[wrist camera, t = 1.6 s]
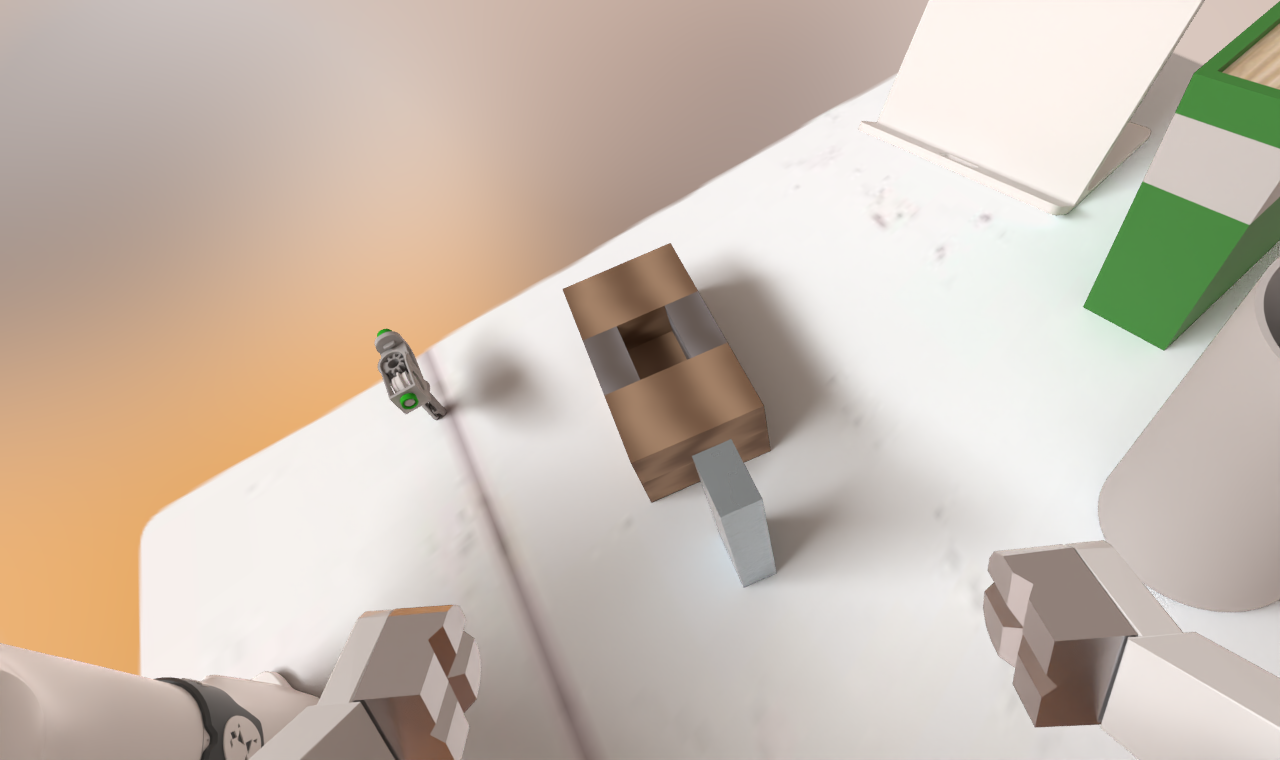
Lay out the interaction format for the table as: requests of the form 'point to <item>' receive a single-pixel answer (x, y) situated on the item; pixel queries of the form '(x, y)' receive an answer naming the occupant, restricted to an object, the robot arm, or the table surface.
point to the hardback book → (1202, 195)
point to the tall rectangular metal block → (736, 511)
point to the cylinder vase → (1210, 472)
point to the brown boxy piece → (665, 369)
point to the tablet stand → (1031, 90)
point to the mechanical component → (404, 375)
